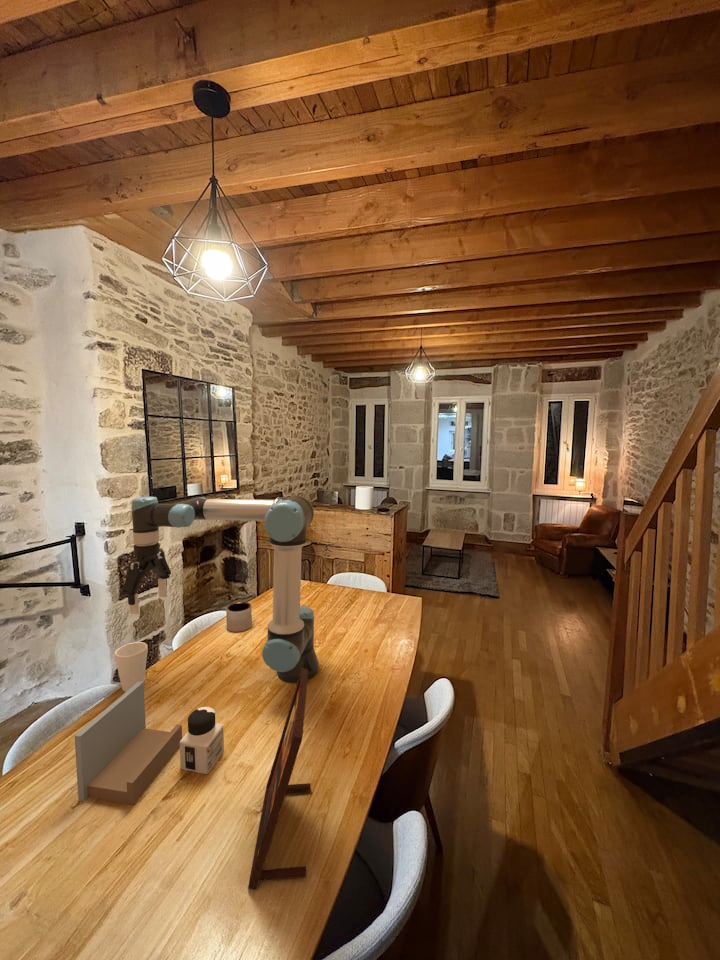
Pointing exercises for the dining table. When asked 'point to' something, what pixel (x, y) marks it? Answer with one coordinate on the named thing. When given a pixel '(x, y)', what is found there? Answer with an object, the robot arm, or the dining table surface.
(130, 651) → the foam cup
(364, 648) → the dining table surface
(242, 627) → the planter
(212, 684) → the dining table surface
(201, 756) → the container
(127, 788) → the wall shelf
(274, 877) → the picture frame
